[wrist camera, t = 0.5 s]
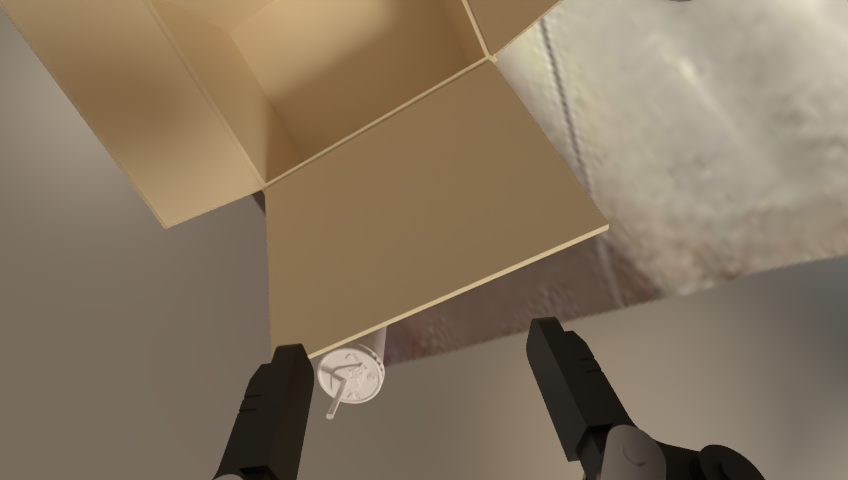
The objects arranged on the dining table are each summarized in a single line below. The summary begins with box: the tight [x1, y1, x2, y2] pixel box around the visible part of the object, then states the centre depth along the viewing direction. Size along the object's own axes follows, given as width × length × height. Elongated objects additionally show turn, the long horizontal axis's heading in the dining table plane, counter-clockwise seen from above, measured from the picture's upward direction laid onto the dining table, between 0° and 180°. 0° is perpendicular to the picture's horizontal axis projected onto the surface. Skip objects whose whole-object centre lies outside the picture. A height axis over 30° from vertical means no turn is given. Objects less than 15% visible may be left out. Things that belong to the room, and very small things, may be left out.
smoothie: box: [317, 326, 386, 419], centre depth 34 cm, size 6×6×14 cm
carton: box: [0, 0, 609, 359], centre depth 24 cm, size 28×26×20 cm
